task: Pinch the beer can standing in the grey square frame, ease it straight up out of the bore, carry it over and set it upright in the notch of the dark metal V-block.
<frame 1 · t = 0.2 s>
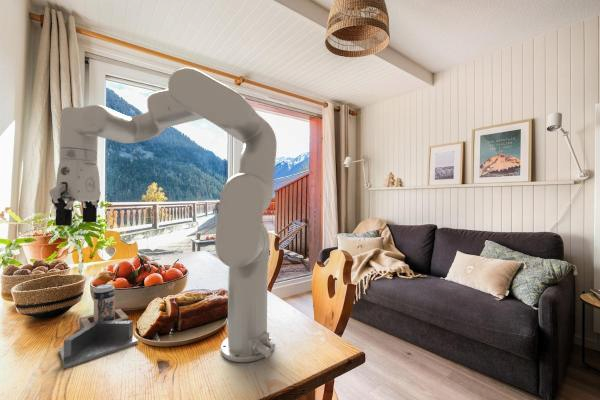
hand: (77, 223, 69), 30 cm above the table, tool pointing down, fingers open, 9 cm apart
v block: (101, 350, 65), on the table
beer can: (104, 329, 75), resting in grey square frame
grey square frame: (104, 328, 75), on the table
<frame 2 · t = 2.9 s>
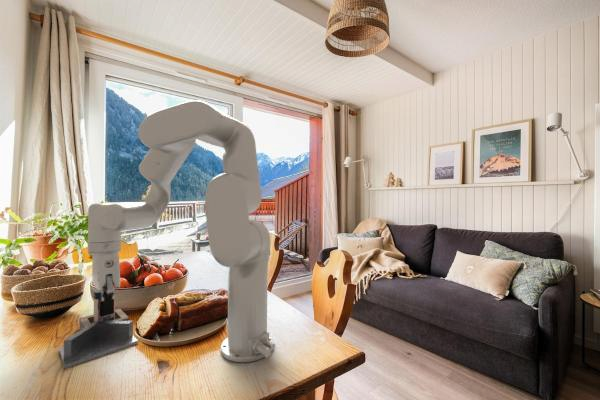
hand: (104, 311, 75), 5 cm above the table, tool pointing down, fingers closed on beer can, 4 cm apart
beer can: (104, 329, 75), resting in grey square frame, touching gripper
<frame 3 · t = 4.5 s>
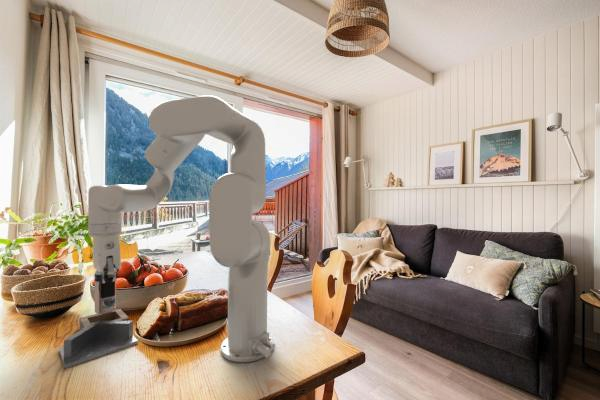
hand: (105, 293, 75), 10 cm above the table, tool pointing down, fingers closed on beer can, 4 cm apart
beer can: (105, 312, 75), point 5 cm above the table, touching gripper
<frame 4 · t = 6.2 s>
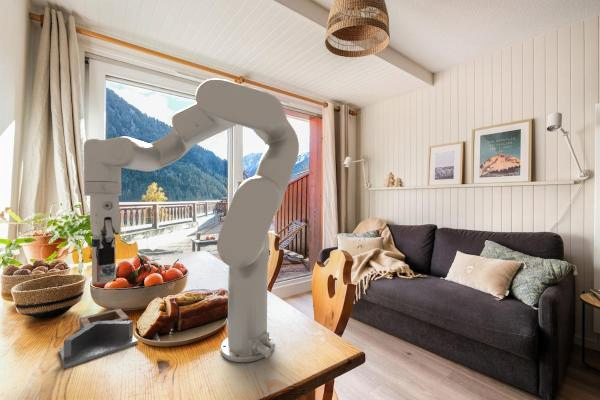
hand: (104, 261, 67), 21 cm above the table, tool pointing down, fingers closed on beer can, 4 cm apart
beer can: (104, 282, 67), point 16 cm above the table, touching gripper
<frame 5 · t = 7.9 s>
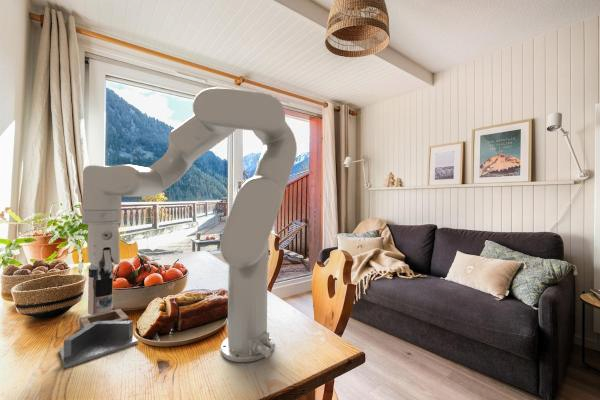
hand: (101, 292, 65), 14 cm above the table, tool pointing down, fingers closed on beer can, 4 cm apart
beer can: (100, 313, 65), point 9 cm above the table, touching gripper
when the fingers open (7 cm above the table, at t = 9.5 s): beer can drops 1 cm, resting on v block.
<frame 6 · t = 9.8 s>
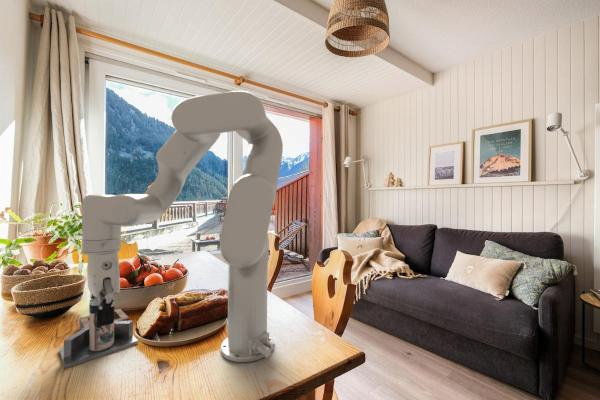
hand: (101, 318, 65), 8 cm above the table, tool pointing down, fingers open, 7 cm apart
beer can: (101, 347, 65), point 1 cm above the table, touching v block
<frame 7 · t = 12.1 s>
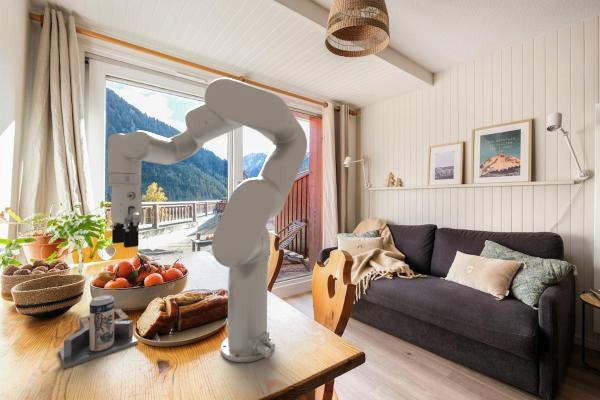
hand: (124, 244, 72), 24 cm above the table, tool pointing down, fingers open, 9 cm apart
nothing on the table moved.
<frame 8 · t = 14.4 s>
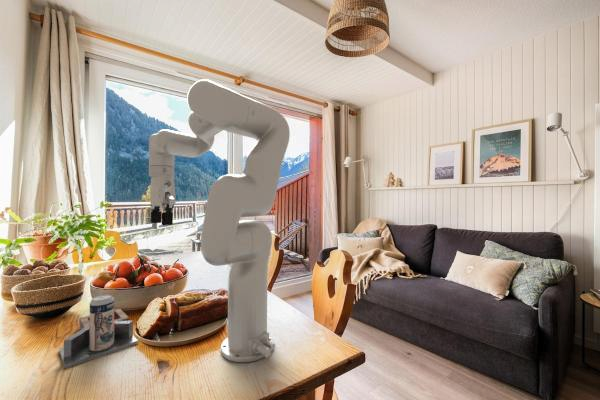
hand: (161, 223, 89), 28 cm above the table, tool pointing down, fingers open, 9 cm apart
nothing on the table moved.
at the end: beer can 0.2 cm from the v block (horizontally); beer can tilted 0°; beer can touching v block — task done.
